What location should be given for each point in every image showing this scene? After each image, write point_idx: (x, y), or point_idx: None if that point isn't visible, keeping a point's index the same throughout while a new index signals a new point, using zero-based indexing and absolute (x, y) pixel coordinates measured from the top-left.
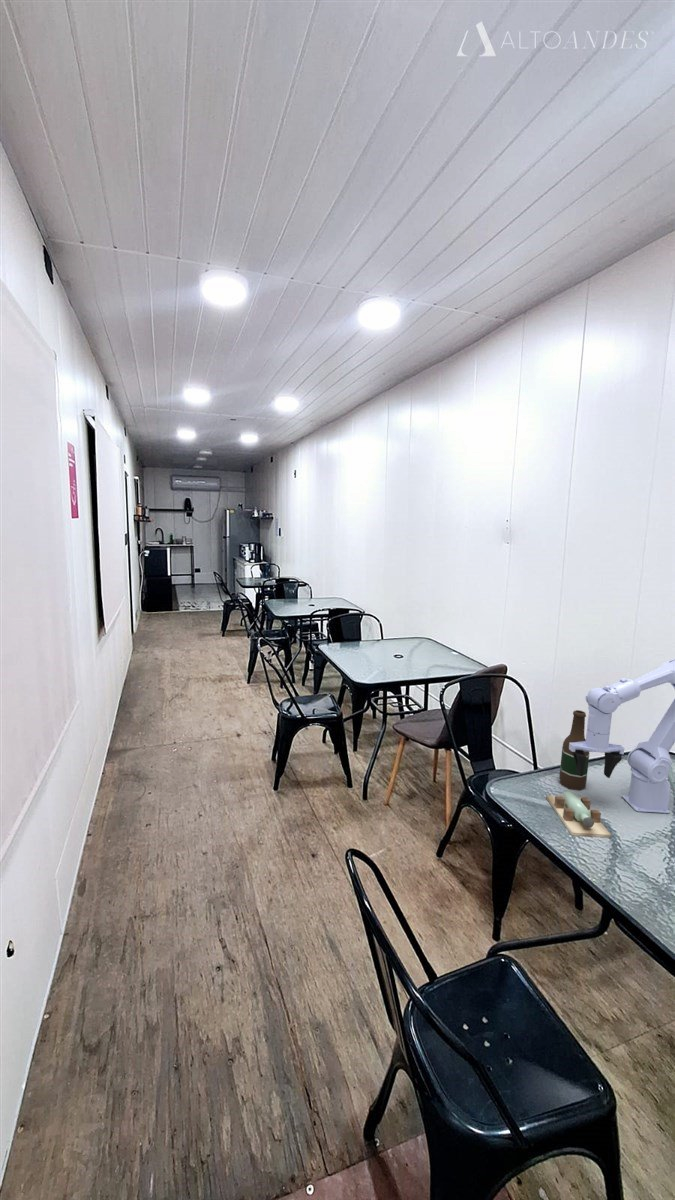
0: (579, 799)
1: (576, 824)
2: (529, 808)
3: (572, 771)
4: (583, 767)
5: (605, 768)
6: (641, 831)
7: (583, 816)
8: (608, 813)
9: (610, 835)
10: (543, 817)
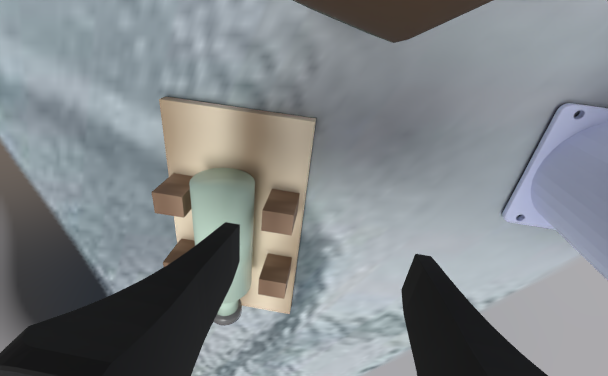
0: None
1: None
2: (89, 166)
3: (313, 9)
4: (206, 329)
5: (426, 300)
6: None
7: None
8: (372, 214)
9: (288, 311)
10: (129, 215)
